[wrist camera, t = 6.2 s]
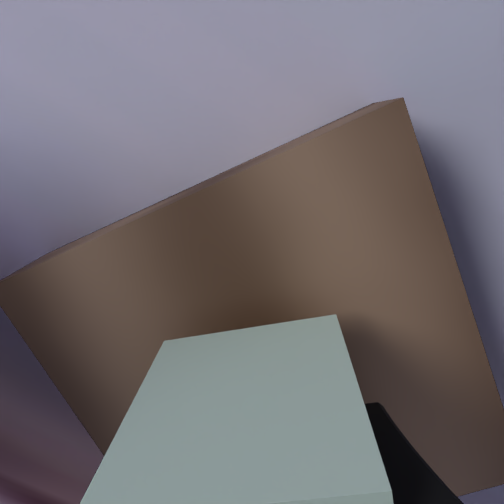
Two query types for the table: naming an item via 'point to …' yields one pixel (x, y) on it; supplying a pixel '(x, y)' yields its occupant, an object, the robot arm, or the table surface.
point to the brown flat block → (282, 288)
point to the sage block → (247, 424)
